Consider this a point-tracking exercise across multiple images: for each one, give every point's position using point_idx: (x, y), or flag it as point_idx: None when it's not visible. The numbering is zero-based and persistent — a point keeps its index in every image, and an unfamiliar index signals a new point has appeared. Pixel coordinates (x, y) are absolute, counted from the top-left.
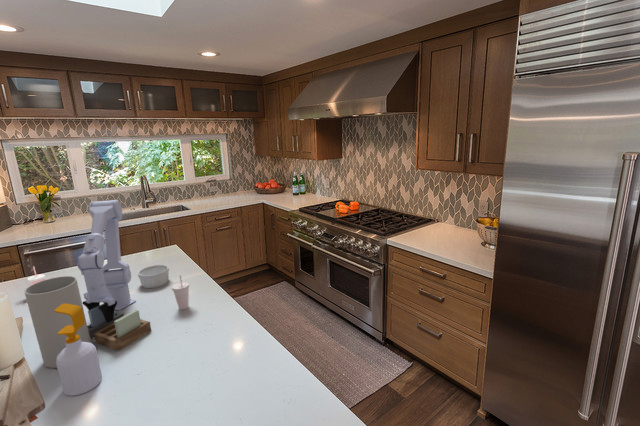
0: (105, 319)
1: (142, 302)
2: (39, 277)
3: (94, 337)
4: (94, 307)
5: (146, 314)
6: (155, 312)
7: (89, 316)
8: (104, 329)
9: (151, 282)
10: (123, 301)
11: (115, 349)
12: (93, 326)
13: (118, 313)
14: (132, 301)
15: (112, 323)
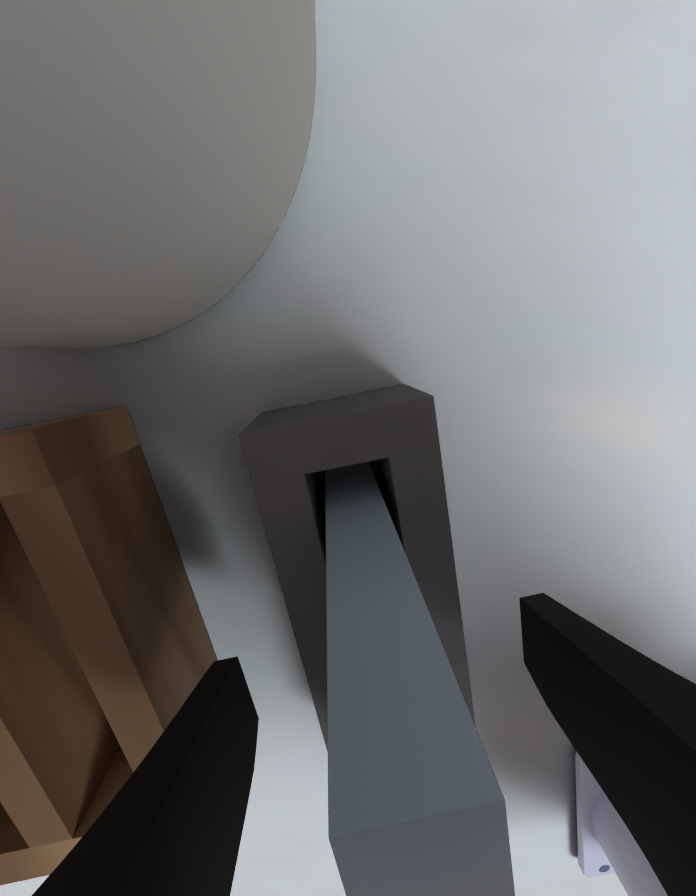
0: (204, 703)
1: (515, 880)
2: None
3: (76, 418)
4: (684, 827)
5: (276, 842)
6: (244, 887)
7: (411, 612)
8: (39, 573)
9: None
10: (633, 867)
11: None
12: (327, 511)
13: None
14: (598, 860)
15: (143, 687)
